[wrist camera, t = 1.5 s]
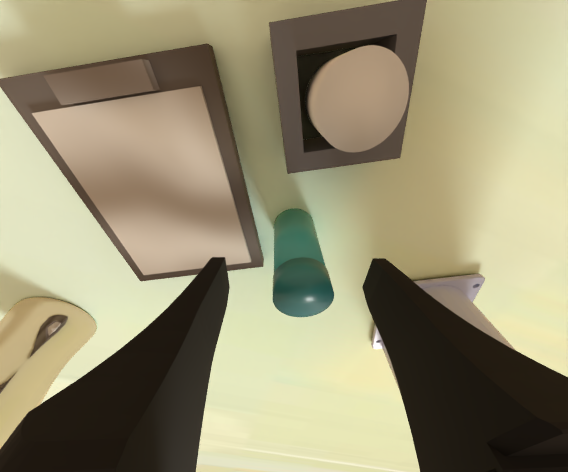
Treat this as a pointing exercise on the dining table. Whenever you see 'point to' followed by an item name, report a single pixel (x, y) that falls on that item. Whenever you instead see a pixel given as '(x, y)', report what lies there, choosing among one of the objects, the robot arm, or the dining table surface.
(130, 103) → the grey flat tray
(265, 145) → the dining table surface
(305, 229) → the marker
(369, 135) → the button cap
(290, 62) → the button box
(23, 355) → the beer glass
